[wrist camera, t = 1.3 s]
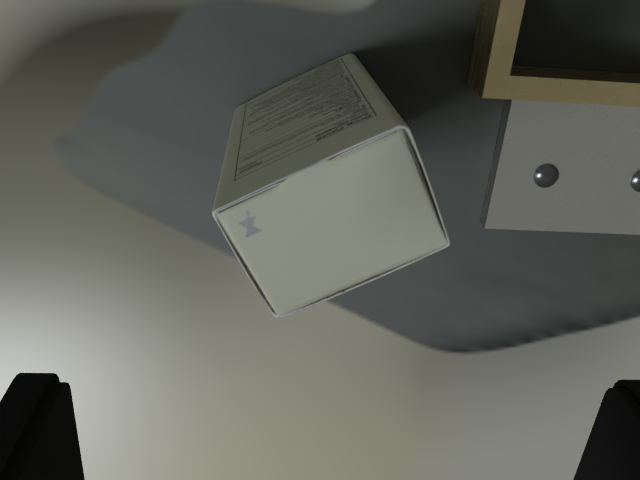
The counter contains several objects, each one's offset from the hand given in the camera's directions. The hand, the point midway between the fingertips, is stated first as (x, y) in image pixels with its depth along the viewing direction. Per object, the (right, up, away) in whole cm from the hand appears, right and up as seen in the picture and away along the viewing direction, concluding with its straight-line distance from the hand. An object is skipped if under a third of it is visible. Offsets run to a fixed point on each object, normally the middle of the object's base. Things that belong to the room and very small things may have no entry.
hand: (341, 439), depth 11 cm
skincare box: (-1, +9, +18) cm, 20 cm away
